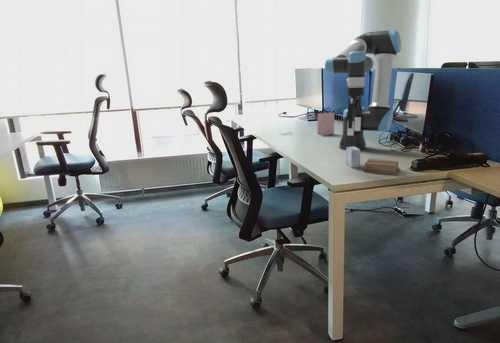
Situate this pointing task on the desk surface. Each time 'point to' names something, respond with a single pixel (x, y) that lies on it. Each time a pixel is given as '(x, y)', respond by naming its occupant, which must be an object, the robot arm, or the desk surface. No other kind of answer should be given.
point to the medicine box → (353, 157)
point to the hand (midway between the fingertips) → (353, 133)
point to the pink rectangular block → (325, 123)
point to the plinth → (381, 166)
